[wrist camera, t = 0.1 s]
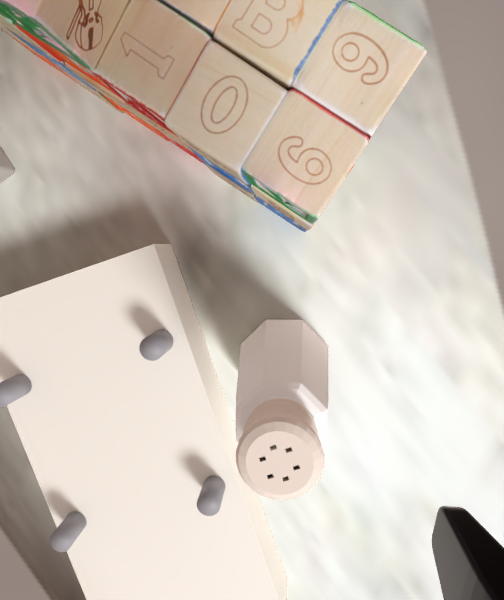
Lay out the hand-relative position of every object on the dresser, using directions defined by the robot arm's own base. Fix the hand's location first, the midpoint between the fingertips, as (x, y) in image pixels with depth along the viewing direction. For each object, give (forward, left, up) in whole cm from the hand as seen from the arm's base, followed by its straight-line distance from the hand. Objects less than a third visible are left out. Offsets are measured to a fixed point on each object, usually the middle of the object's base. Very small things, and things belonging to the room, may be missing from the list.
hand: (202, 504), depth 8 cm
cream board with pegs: (-10, +1, -15) cm, 18 cm away
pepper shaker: (0, -2, -16) cm, 16 cm away
